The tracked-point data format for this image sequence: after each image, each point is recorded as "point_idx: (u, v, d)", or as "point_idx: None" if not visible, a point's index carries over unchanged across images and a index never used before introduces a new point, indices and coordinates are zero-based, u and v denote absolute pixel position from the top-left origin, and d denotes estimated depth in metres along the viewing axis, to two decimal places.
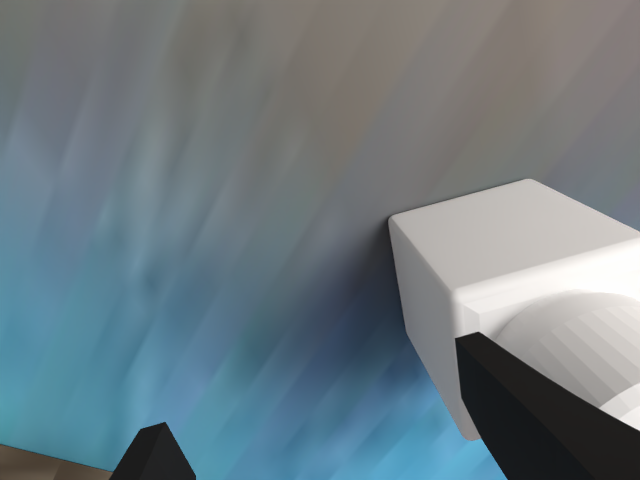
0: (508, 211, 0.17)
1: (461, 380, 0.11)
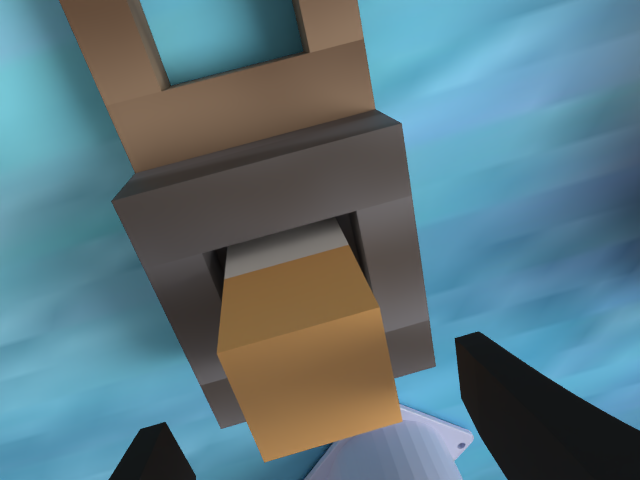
0: None
1: (461, 380, 0.11)
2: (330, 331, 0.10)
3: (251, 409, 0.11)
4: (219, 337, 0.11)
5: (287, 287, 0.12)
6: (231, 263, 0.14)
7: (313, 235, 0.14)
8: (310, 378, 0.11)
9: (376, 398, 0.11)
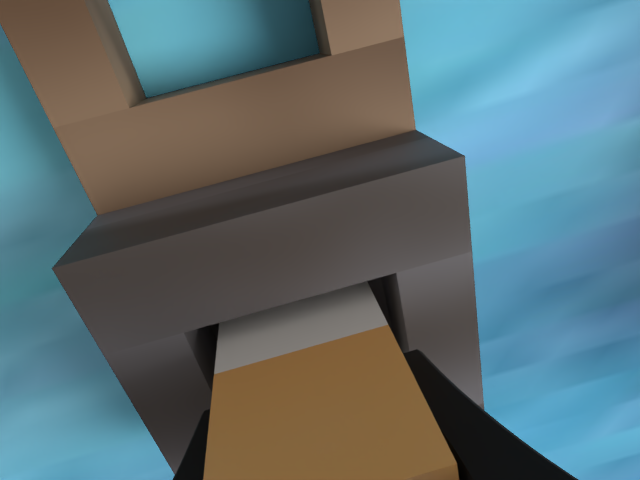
0: None
1: None
2: None
3: None
4: None
5: (305, 401, 0.08)
6: (225, 344, 0.10)
7: (336, 303, 0.11)
8: None
9: None
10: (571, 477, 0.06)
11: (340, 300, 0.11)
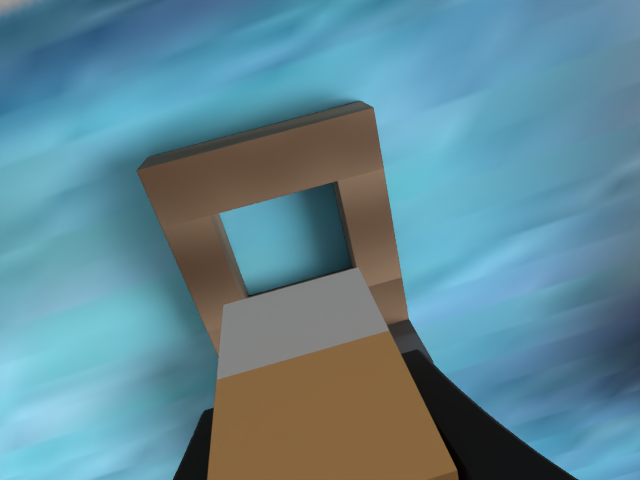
0: None
1: None
2: None
3: None
4: None
5: (307, 407, 0.08)
6: (227, 350, 0.10)
7: (337, 309, 0.11)
8: None
9: None
10: (571, 477, 0.06)
11: (341, 305, 0.11)
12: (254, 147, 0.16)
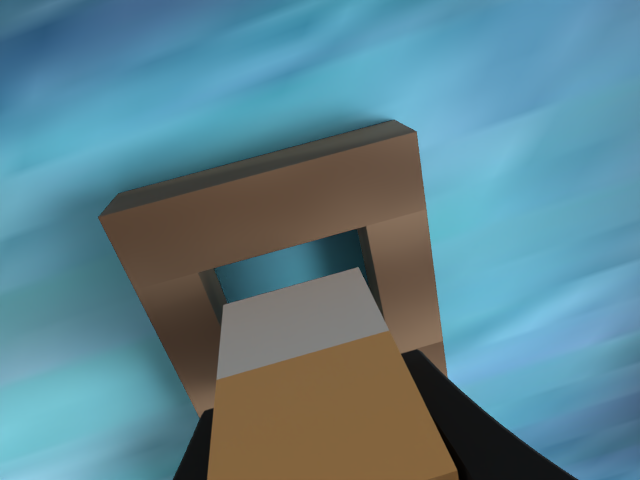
0: None
1: None
2: None
3: None
4: None
5: (307, 407, 0.08)
6: (227, 349, 0.10)
7: (337, 309, 0.11)
8: None
9: None
10: (571, 477, 0.06)
11: (341, 305, 0.11)
12: (257, 184, 0.12)
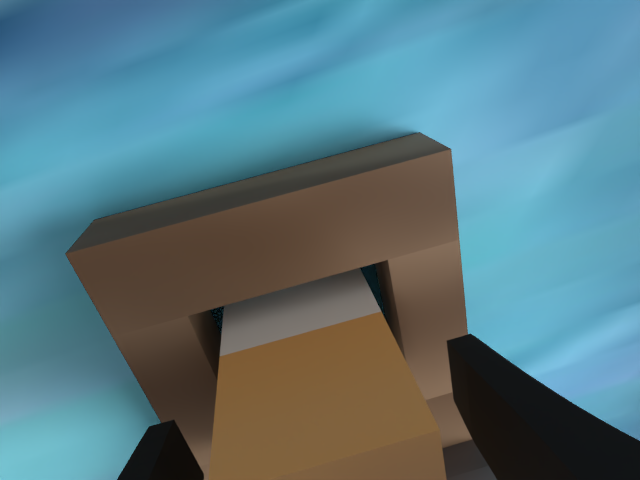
0: None
1: (453, 382, 0.10)
2: (369, 462, 0.07)
3: None
4: (211, 465, 0.08)
5: (304, 379, 0.09)
6: (229, 330, 0.11)
7: (333, 293, 0.11)
8: None
9: None
10: None
11: (337, 290, 0.12)
12: (258, 214, 0.10)
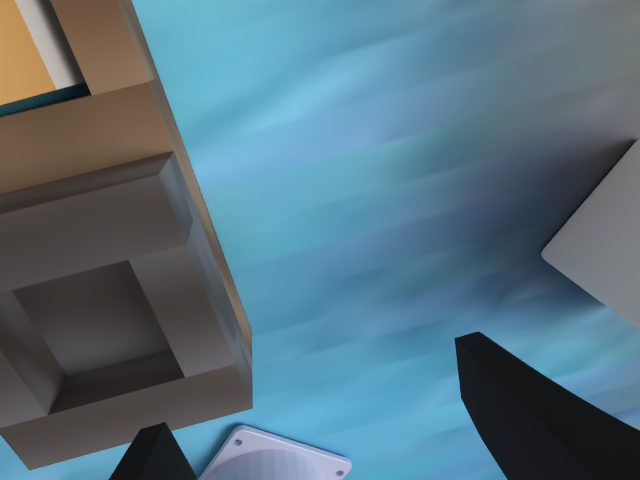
0: None
1: (461, 380, 0.11)
2: None
3: None
4: None
5: None
6: None
7: None
8: None
9: None
10: None
11: None
12: None
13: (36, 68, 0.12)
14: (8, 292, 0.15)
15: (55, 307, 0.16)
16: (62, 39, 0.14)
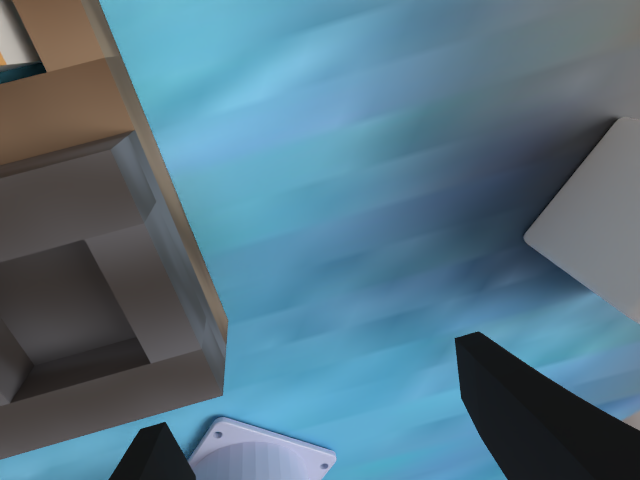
0: None
1: (461, 380, 0.11)
2: None
3: None
4: None
5: None
6: None
7: None
8: None
9: None
10: None
11: None
12: None
13: None
14: None
15: (18, 293, 0.16)
16: (16, 16, 0.14)
